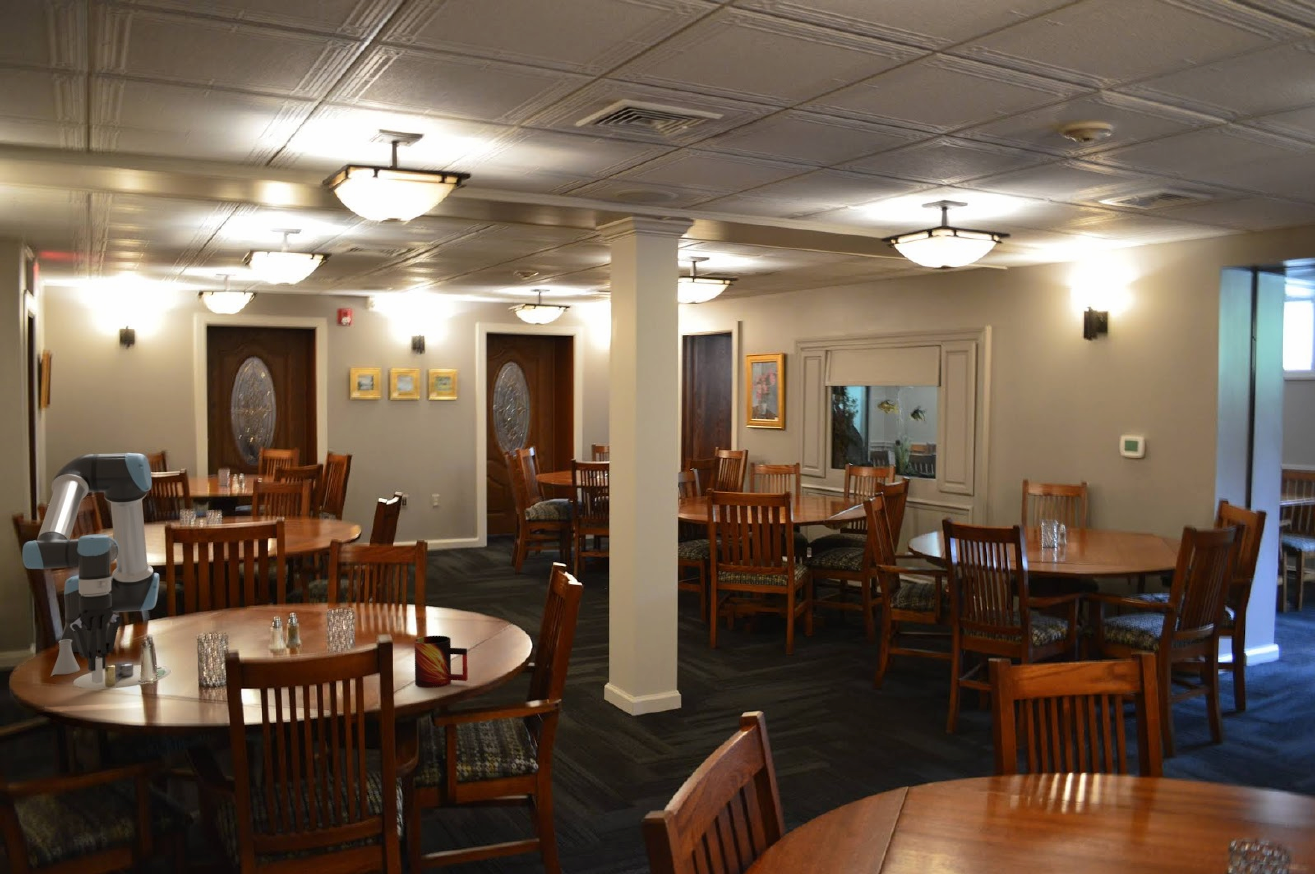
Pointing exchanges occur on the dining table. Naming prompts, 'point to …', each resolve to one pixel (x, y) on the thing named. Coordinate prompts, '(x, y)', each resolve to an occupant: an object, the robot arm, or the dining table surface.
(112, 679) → the crank handle
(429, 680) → the mug
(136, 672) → the dial board
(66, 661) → the flask
